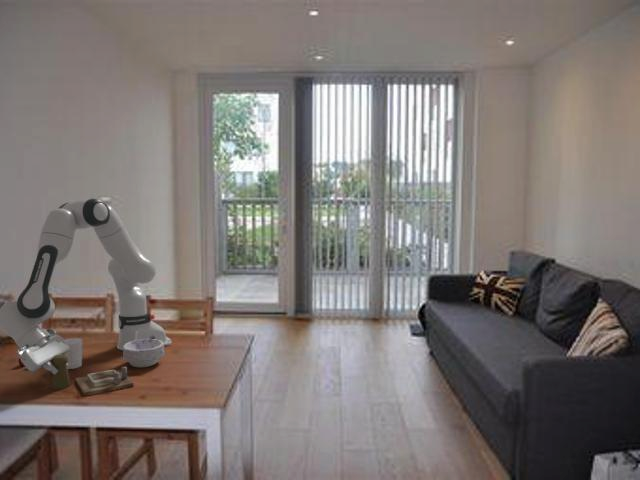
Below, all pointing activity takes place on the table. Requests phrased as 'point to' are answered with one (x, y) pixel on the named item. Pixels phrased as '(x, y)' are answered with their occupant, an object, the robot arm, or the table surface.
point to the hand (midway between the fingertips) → (62, 369)
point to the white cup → (74, 353)
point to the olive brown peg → (60, 372)
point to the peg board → (104, 381)
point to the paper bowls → (143, 352)
